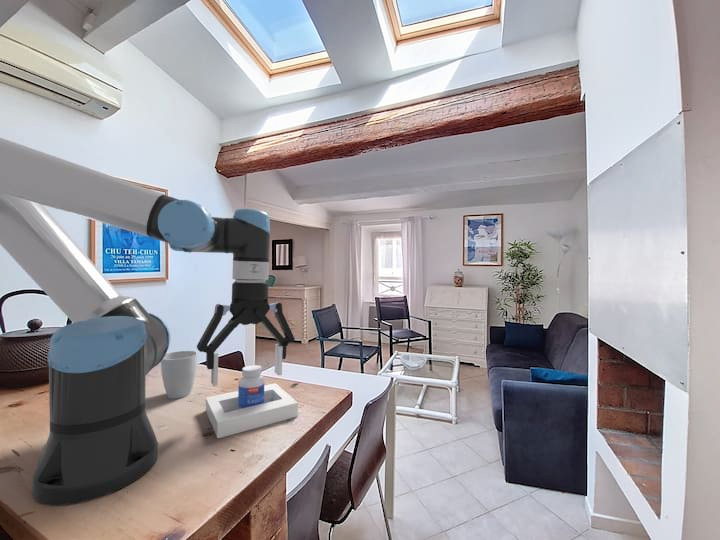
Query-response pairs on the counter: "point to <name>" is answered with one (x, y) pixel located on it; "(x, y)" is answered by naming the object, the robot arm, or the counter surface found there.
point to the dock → (249, 411)
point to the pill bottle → (250, 387)
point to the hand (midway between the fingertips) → (247, 378)
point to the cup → (179, 373)
